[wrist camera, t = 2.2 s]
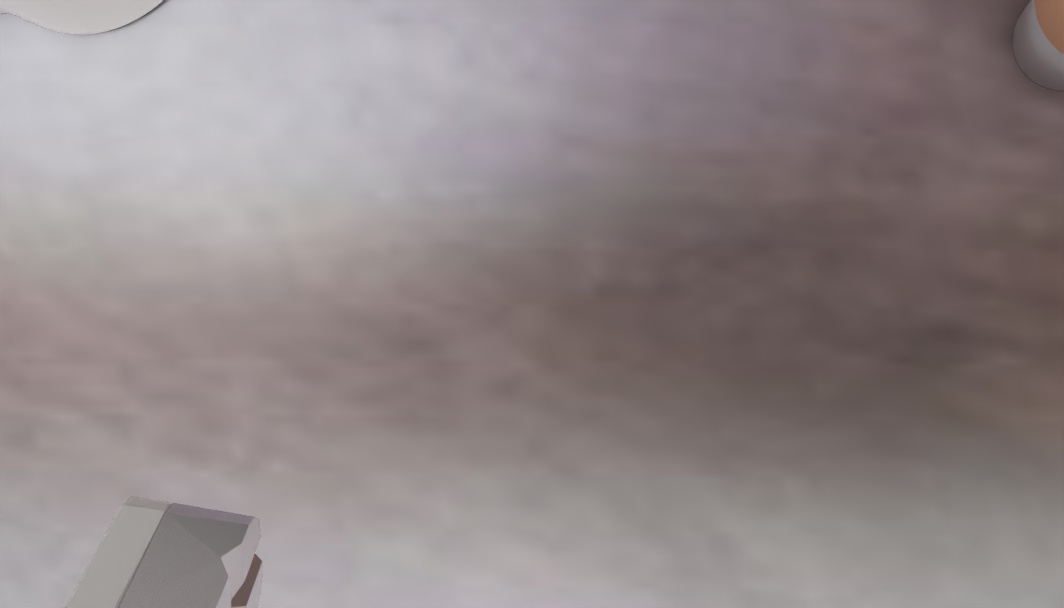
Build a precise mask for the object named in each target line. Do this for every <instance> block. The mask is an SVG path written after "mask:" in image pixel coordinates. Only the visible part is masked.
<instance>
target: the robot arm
mask: <svg viewBox="0 0 1064 608" xmlns="http://www.w3.org/2000/svg"><path fill="white" fill-rule="evenodd" d="M162 1H163V0H0V14H2V13H8V14H13V15H16V16H19V17H21V18H24V19H26V20H28V21H30V22H32V23H34V24H36V25H39V26H41V27H44V28H46V29H49V30H53V31H56V32H61V33H67V34H94V33H101V32H106V31H110V30H113V29H116V28H119V27H122V26H124V25H127V24H129V23H131V22H133V21H135V20H137V19H138V18H140V17H142V16H143V15H145V14H146V13H148V12H149V11H151V10H152V9H154V8H155V7H156V6H157V5H159V4H160V3H161V2H162ZM260 538H261V531H260V520H259V518H257V517H253V516H247V515H241V514H235V513H229V512H224V511H218V510H212V509H206V508H200V507H194V506H188V505H183V504H177V503H170V502H163V501H157V500H151V499H144V498H138V497H130V498H129V499H128V500H127V501H126V502H125V503H124V504H123V505H122V506H121V507H120V508H119V510H118V512H117V514H116V515H115V517H114V519H113V521H112V523H111V525H110V526H109V528H108V530H107V532H106V534H105V536H104V537H103V539H102V541H101V543H100V545H99V547H98V548H97V550H96V552H95V554H94V556H93V558H92V559H91V561H90V563H89V565H88V567H87V569H86V570H85V572H84V574H83V576H82V578H81V580H80V581H79V583H78V585H77V587H76V589H75V591H74V592H73V594H72V596H71V598H70V600H69V602H68V603H67V605H66V607H65V608H258V604H259V599H260V595H261V587H262V577H263V570H262V561H261V560H260V559H259V557H258V556H257V555H256V554H255V552H256V549H257V546H258V544H259V541H260Z"/></svg>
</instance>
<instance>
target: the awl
mask: <svg viewBox="0 0 1064 608" xmlns="http://www.w3.org/2000/svg"><path fill="white" fill-rule="evenodd" d="M1012 45H1013V52H1014V56H1015V59H1016V61H1017V64H1018V65H1019V67H1020V69H1021V70H1022V71H1023V72H1024V74H1025V75H1026V76H1027V77H1028V78H1030V79H1031V80H1032V81H1034V82H1035V83H1036V84H1038V85H1040V86H1042V87H1045V88H1048V89H1051V90H1056V91H1064V0H1030V2H1029V3H1028V4H1027V6H1026V7H1025V8H1024V10H1023V11H1022V13H1021V14H1020V16H1019V18H1018V20H1017V22H1016V25H1015V28H1014V32H1013V40H1012Z"/></svg>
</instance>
